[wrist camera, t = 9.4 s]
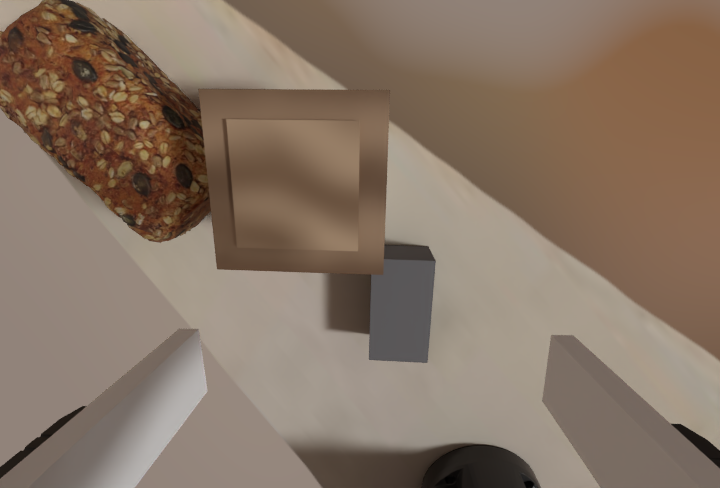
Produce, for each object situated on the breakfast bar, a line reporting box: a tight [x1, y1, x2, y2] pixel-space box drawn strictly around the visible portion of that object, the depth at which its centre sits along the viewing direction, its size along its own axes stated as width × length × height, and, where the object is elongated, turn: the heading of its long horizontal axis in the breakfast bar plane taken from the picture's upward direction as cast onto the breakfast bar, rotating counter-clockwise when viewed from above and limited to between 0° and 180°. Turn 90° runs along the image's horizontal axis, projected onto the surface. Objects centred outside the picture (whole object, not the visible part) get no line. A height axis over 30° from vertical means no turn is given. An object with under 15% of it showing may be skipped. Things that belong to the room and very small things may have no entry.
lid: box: [198, 89, 390, 275], centre depth 24 cm, size 12×12×3 cm
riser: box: [369, 245, 436, 363], centre depth 36 cm, size 11×6×5 cm, turn 179°
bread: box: [0, 0, 211, 242], centre depth 30 cm, size 19×11×10 cm, turn 41°
